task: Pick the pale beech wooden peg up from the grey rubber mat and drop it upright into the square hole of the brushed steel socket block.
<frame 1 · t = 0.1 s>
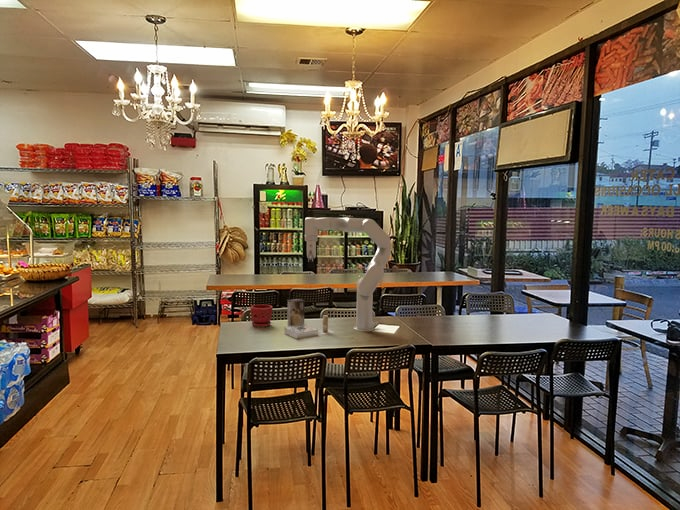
hand: (310, 267, 278), 37 cm above the table, tool pointing down, fingers open, 9 cm apart
mat: (324, 332, 274), on the table
plant pot: (261, 325, 287), on the table
socket block: (301, 334, 268), on the table
peg: (325, 331, 273), resting on mat
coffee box: (295, 326, 287), on the table
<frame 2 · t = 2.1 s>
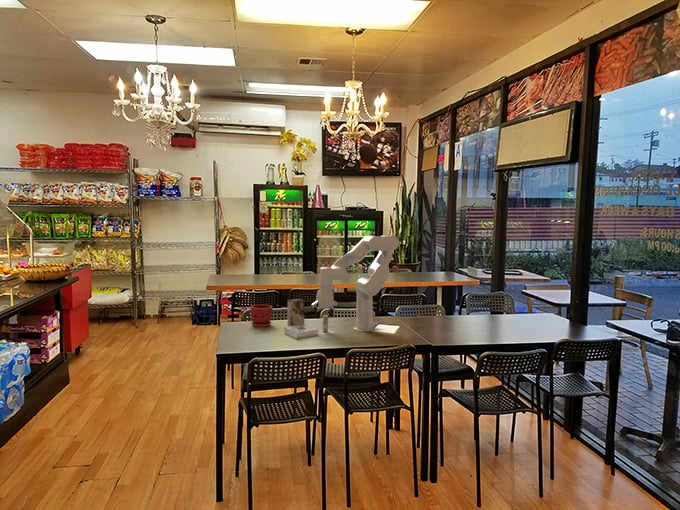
hand: (324, 317, 272), 9 cm above the table, tool pointing down, fingers open, 9 cm apart
nothing on the table moved.
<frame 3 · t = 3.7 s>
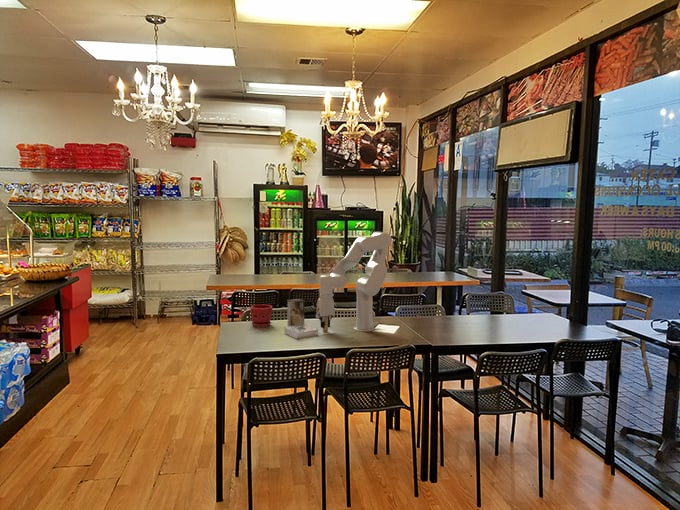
hand: (325, 327, 273), 3 cm above the table, tool pointing down, fingers closed on peg, 3 cm apart
peg: (325, 331, 273), resting on mat, touching gripper
everything else where it was.
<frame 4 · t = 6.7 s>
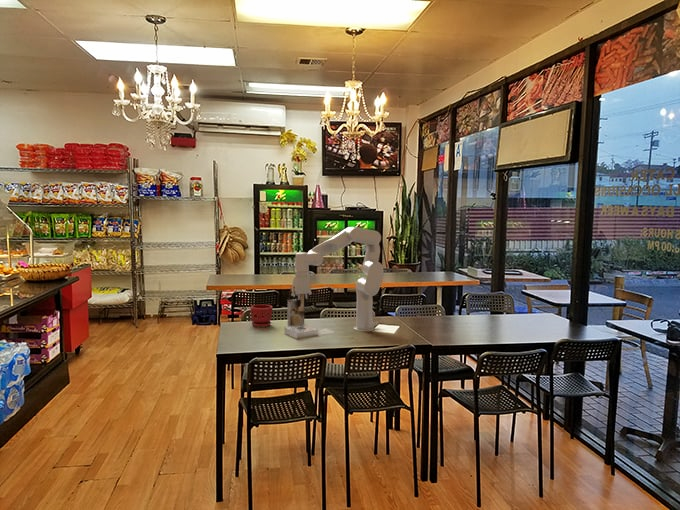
hand: (301, 305, 267), 17 cm above the table, tool pointing down, fingers closed on peg, 3 cm apart
peg: (301, 310, 267), point 14 cm above the table, touching gripper
everything else where it was.
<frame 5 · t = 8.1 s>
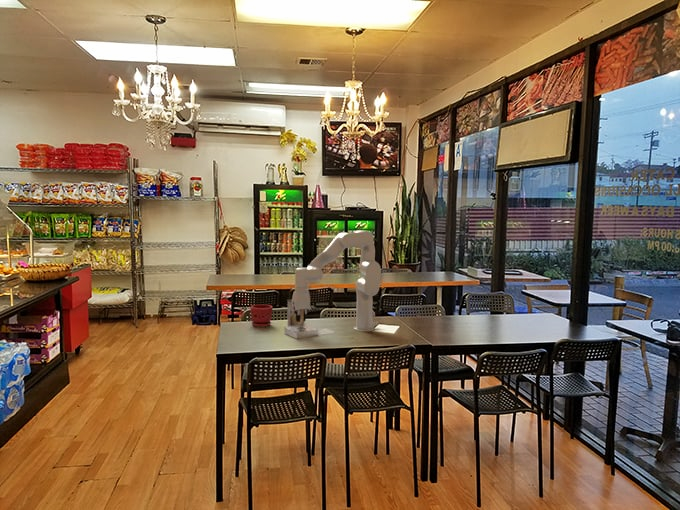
hand: (300, 320, 267), 8 cm above the table, tool pointing down, fingers closed on peg, 3 cm apart
peg: (300, 325, 268), point 5 cm above the table, touching gripper
everything else where it was.
when the fingers open (4 cm above the table, at t = 9.5 s): peg drops 2 cm, resting in socket block.
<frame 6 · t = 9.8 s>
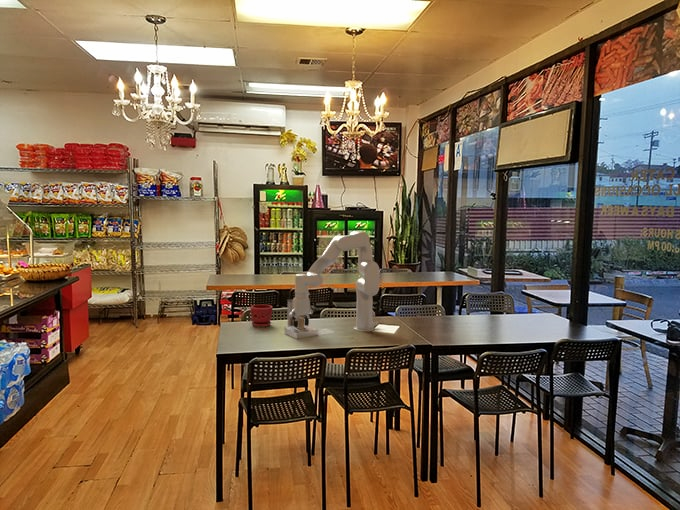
hand: (301, 326, 268), 5 cm above the table, tool pointing down, fingers open, 6 cm apart
peg: (301, 334, 268), resting in socket block
everything else where it was.
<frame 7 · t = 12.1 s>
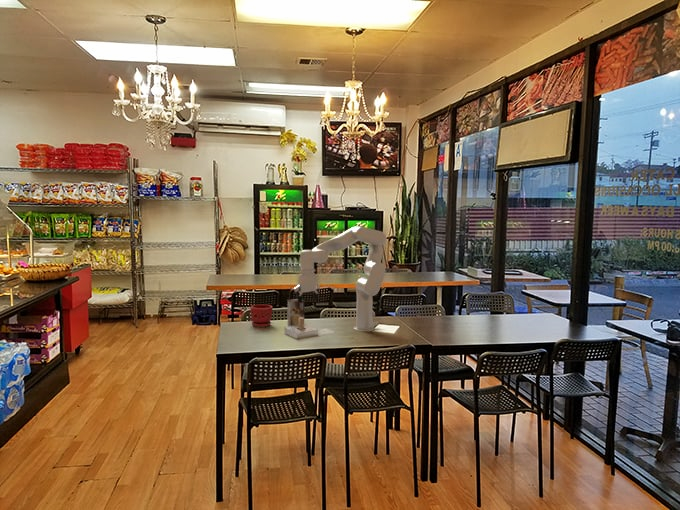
hand: (307, 301, 267), 19 cm above the table, tool pointing down, fingers open, 9 cm apart
nothing on the table moved.
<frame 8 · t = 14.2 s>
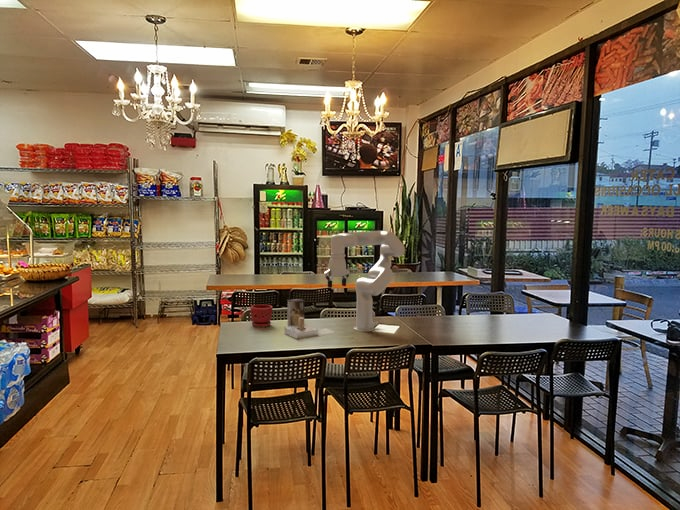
hand: (336, 286, 265), 28 cm above the table, tool pointing down, fingers open, 9 cm apart
nothing on the table moved.
at the end: peg 0.1 cm off-centre on the socket block, point 0.0 cm above the socket block's base; peg tilted 0°; the gripper is holding nothing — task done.
